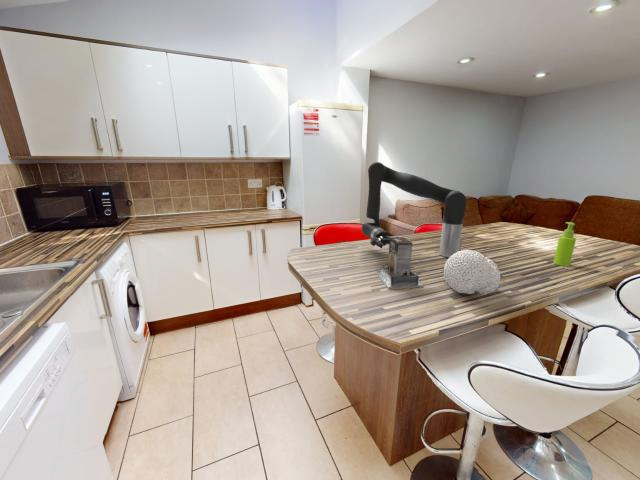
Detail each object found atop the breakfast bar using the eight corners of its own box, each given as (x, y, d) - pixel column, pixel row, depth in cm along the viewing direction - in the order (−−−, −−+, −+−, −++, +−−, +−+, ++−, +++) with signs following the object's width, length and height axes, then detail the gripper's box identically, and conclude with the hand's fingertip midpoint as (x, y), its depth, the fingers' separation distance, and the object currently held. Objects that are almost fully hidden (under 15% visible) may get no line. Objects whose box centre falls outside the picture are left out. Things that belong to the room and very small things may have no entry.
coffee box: (386, 273, 117) (389, 237, 113) (401, 272, 118) (404, 236, 114) (394, 281, 109) (396, 243, 104) (409, 281, 109) (413, 242, 105)
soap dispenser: (565, 262, 132) (576, 221, 126) (571, 266, 126) (582, 224, 120) (550, 260, 134) (560, 220, 129) (555, 265, 128) (565, 223, 123)
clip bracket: (406, 271, 122) (406, 262, 121) (423, 287, 106) (424, 277, 105) (375, 272, 121) (376, 263, 120) (388, 289, 105) (388, 279, 104)
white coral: (467, 283, 89) (472, 238, 94) (429, 287, 105) (435, 249, 110) (511, 303, 94) (513, 259, 99) (468, 304, 110) (472, 266, 115)
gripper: (366, 229, 134) (375, 238, 119) (394, 228, 136) (407, 237, 120) (365, 244, 136) (375, 254, 121) (393, 243, 138) (406, 253, 122)
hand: (391, 245), depth 121 cm, fingers open, 8 cm apart
